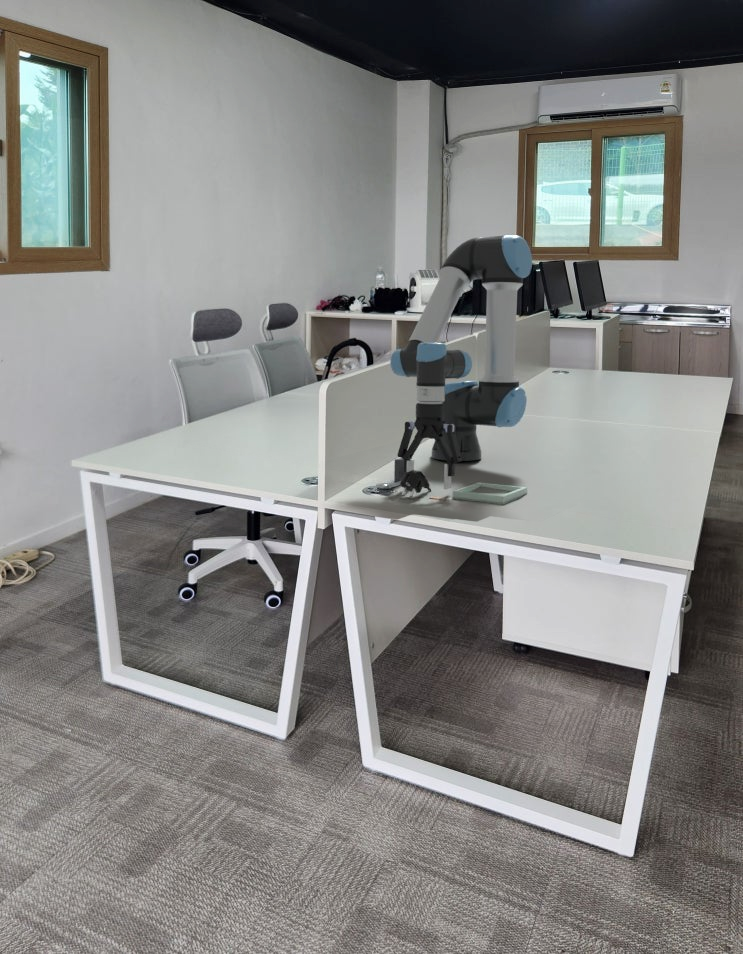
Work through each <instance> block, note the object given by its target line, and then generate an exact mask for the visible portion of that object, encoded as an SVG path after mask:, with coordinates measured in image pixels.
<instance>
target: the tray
mask: <svg viewBox="0 0 743 954" xmlns="http://www.w3.org/2000/svg"><path fill="white" fill-rule="evenodd" d="M479 487H483V488H490V489H496V490H502V491H509V492H508V493H506V492H505V493H502V492H501V493H499V492H497V493H496V492H490V493H489V492H487V493H486V492H485V493H484V492H483V493H482V492H472V491H474V490H476V489H478V488H479ZM526 494H528V487H527V486H517V485H516V486H515V485H507V484H505V485H504V484H496V483H488V482H475V483H473V484H470V485H467V486H463V487H461V488H458V489H455V490H452V499H454V500H461V501H470V502H478V503H488V504H498V505H505V504H509V503H511V502H513V501H516V500H518V499H520V498H521V497H522V496H524V495H526Z"/></svg>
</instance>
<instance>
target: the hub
mask: <svg viewBox="0 0 743 954" xmlns="http://www.w3.org/2000/svg"><path fill="white" fill-rule="evenodd" d="M374 490H377V491H379V492H375V493H374V494H377V493H380V494H379V495H383V494H385V495H384V496H388V495H389V494H391V493H393V494H395V493H394V492H391V490H393V489H392V488H391V489H376V488H375V489H374ZM391 495H392V494H391ZM389 496H390V495H389Z"/></svg>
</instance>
